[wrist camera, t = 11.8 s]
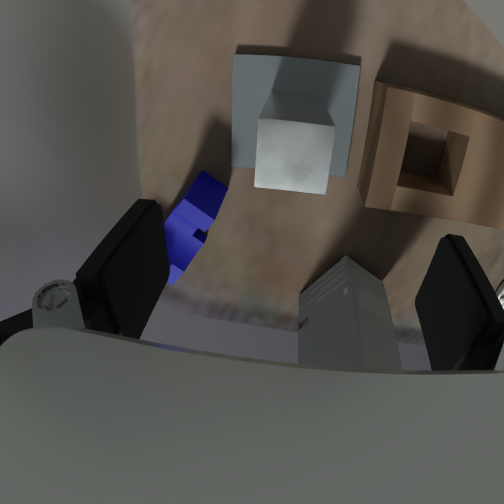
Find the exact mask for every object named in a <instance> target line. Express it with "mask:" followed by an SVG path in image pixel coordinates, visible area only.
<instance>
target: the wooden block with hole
mask: <svg viewBox="0 0 504 504" xmlns="http://www.w3.org/2000/svg"><path fill="white" fill-rule="evenodd" d="M411 121H412V122H417V123H421V124H425V125H429V126H433V127H437V128H441V129H445V130H448V135H447V140H446V144H445V148H444V152H443V156H442V160H441V164H440V168H439V171H438V175H437V177H434V176H429V175H424V174H419V173H414V172H408V171H403V170H401V166H402V161H403V157H404V152H405V148H406V143H407V138H408V133H409V128H410V123H411ZM358 189H359V192H360V194H361V197H362V200H363V203H364V206H365V207H369V208H377V209H384V210H391V211H398V212H405V213H411V214H418V215H424V216H430V217H437V218H443V219H449V220H454V221H460V222H466V223H471V224H477V225H482V226H487V227H493V228H498V229H503V230H504V118H503V117H501V116H498V115H496V114H493V113H490V112H488V111H485V110H482V109H480V108H477V107H474V106H471V105H468V104H465V103H462V102H459V101H456V100H452V99H449V98H446V97H442V96H439V95H435V94H432V93H428V92H424V91H421V90H417V89H413V88H409V87H405V86H400V85H396V84H391V83H387V82H382V81H377V80H375V81H374V89H373V97H372V104H371V111H370V117H369V124H368V130H367V136H366V142H365V148H364V154H363V159H362V165H361V170H360V176H359V181H358Z"/></svg>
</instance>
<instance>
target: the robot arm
mask: <svg viewBox="0 0 504 504" xmlns="http://www.w3.org/2000/svg"><path fill="white" fill-rule="evenodd" d="M169 275H170V265H169V258H168V252H167V244H166V237H165V229H164V222H163V213H162V207H161V205H159V204H157V202H156V201H155V200H149V199H138V200H137V201H136V202H135V203H134V204H133V205H132V207H131V208H130V209H129V210H128V211H127V212H126V213H125V214H124V215H123V217H122V218H121V219H120V220H119V222H117V224H116V225H115V226H114V227H113V228H112V230H111V231H110V232H109V233H108V234H107V235H106V237H105V238H104V239H103V240H102V241H101V243H100V244H99V245H98V246H97V247H96V249H95V250H94V251H93V252H92V254H91V255H90V256H89V257H88V259H87V260H86V261H85V263H84V264H83V265H82V267H81V268H80V269H79V270H78V272H77V273H76V279H75V280H74V281H73V283H72V282H71V281H68V280H65V279H58V280H53V281H51V282H48V283H46V284H44V285H43V286H42V287H41V288H39V289H38V290H37V292H36V293H35V295H34V297H33V299H32V308H31V309H29V310H27V311H24V312H22V313H19V314H17V315H15V316H12V317H10V318H8V319H5V320H3V321H1V322H0V504H504V281H503V283H502V284H501V285H500V287H499V288H498V290H497V291H496V293H495V291H494V289H493V287H492V285H491V284H490V282H489V280H488V278H487V276H486V274H485V273H484V271H483V269H482V267H481V266H480V264H479V262H478V260H477V259H476V257H475V255H474V254H473V252H472V250H471V249H470V247H469V245H468V244H467V242H466V240H465V239H464V238H463V236H458V235H452V234H447V235H446V236H445V237H442V238H441V239H440V241H439V244H438V246H437V249H436V251H435V254H434V256H433V259H432V261H431V264H430V266H429V268H428V271H427V273H426V275H425V278H424V280H423V282H422V285H421V287H420V289H419V291H418V293H417V296H416V299H415V307H416V311H417V314H418V318H419V321H420V325H421V328H422V332H423V336H424V340H425V344H426V348H427V351H428V356H429V360H430V364H431V369H432V371H420V370H416V371H415V370H381V369H361V368H344V367H330V366H318V365H307V364H296V363H287V362H278V361H269V360H261V359H253V358H246V357H238V356H230V355H225V354H218V353H212V352H205V351H199V350H193V349H188V348H182V347H176V346H171V345H166V344H160V343H155V342H150V341H145V340H140V336H141V334H142V332H143V330H144V328H145V326H146V324H147V321H148V319H149V317H150V315H151V313H152V311H153V309H154V307H155V305H156V303H157V301H158V299H159V297H160V295H161V293H162V291H163V289H164V287H165V285H166V283H167V281H168V279H169Z"/></svg>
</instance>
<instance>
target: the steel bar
mask: <svg viewBox="0 0 504 504" xmlns="http://www.w3.org/2000/svg"><path fill="white" fill-rule="evenodd" d="M335 130H336V126H335V124H334V122H333V120H332V117H331V115H330V113H329V111H328V109H327V107H326V105H325V103H324V101H323V99H322V97H321V96H314V95H305V94H297V93H287V92H276V91H271V93H270V95H269V97H268V99H267V101H266V103H265V105H264V107H263V109H262V111H261V114H260V116H259V118H258V133H257V150H256V168H255V186H254V187H261V188H271V189H281V190H290V191H299V192H307V193H316V194H324V195H325V193H326V187H327V181H328V175H329V169H330V163H331V157H332V150H333V144H334V137H335Z"/></svg>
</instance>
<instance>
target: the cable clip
mask: <svg viewBox="0 0 504 504" xmlns="http://www.w3.org/2000/svg"><path fill="white" fill-rule="evenodd" d="M227 190H228V188H227V187H226V186H224V185H223V184H222V183H220V182H219V181H217V180H216V179H215V178H213V177H212V176H210V175H209V174H208V173H206V172H205V171H203V170H202V171H201V172H200V174H199V175H198V176H197V178H196V179H195V180H194V182H193V183H192V185H191V186H190V187H189V189H188V190H187V191H186V193H185V194H184V196H183V197H182V198H181V200H180V201H179V202H178V204H177V205H176V207H175V208H174V210H173V211H172V212H171V214H170V215H169V217H168V218H167V220H166V221H165V222H164V229H165V237H166V244H167V252H168V258H169V265H170V275H169V279H168V281H167V282H168V283H170V284H172V285H173V284H174V283H175V282H176V281H177V279H178V278H179V277H180V276H181V275H182V274H183V272H184V271H185V269H186V268H187V266H188V265H189V263H190V262H191V260H192V259H193V257H194V256H195V255H196V253H197V252H198V251H199V249H200V248H201V247H202V246H203V244H204V243H205V240H206V238H207V236H206V235H204V234H203V233H201V232H200V231H198V230H197V229H198V228H200V229H201V230H202V231H204V232H205V231H206V230H207V229H208V228H209V226H210V225H211V224H212V223H213V222H214V220H215V218H216V216H217V214H218V211H219V209H220V206H221V204H222V202H223V199H224V197H225V195H226V192H227Z"/></svg>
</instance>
